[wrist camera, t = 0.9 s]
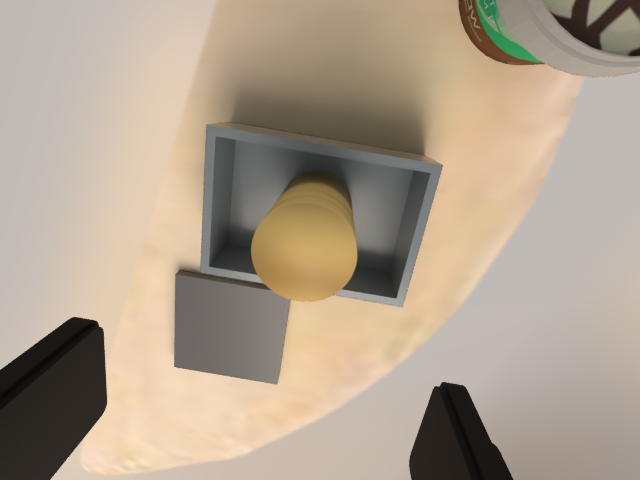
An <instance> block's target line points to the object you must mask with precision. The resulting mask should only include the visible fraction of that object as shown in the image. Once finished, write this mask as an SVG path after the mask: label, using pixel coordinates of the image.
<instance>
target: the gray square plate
mask: <svg viewBox="0 0 640 480" xmlns="http://www.w3.org/2000/svg"><path fill="white" fill-rule="evenodd" d="M289 305H290V299H287V298H284V297H282V296H280V295H278V294H276V293H275V292H273V291H272V290H271V289H269V288H268V287H267V286H266V285H263V284H257V283H251V282H245V281H239V280H233V279H227V278H221V277H216V276H210V275H204V274H198V273H192V272H186V271H179V272H178V273H176V281H175V357H174V367H177V368H183V369H189V370H195V371H201V372H207V373H213V374H218V375H224V376H230V377H236V378H242V379H248V380H254V381H260V382H266V383H271V384H277V383H278V379H279V373H280V366H281V359H282V353H283V346H284V339H285V332H286V326H287V319H288V312H289Z"/></svg>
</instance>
